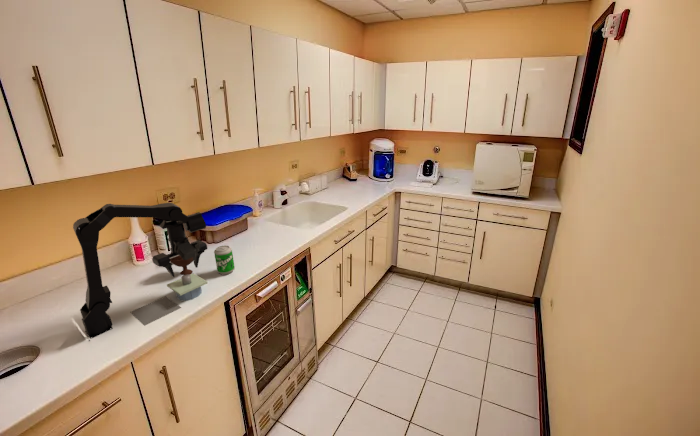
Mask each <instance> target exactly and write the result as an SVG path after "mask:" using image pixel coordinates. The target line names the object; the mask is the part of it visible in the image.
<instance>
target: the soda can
mask: <svg viewBox="0 0 700 436" xmlns="http://www.w3.org/2000/svg"><path fill="white" fill-rule="evenodd" d="M213 253H214V258H215V265H216V270H217V271H216V272H217V273H218V274H220V275H223V276H224V275H225V276H226V275H229V274H232V273H233V272H234V271H235V262H234V261H235V260H234V255H233V249H232V247H231V246H229V245H225V244H224V245H219V246H217V247H216V248H215V249H214V251H213Z"/></svg>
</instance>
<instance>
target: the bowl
mask: <svg viewBox="0 0 700 436" xmlns="http://www.w3.org/2000/svg"><path fill="white" fill-rule="evenodd" d="M201 294H202V286H200V287H198V288H196V289H194V290H192V291H190V292H187V293H185V294H183V295H181V296H180V295H179V294H177V293H176V292H175V295H176V299H177V300H179V301H183V302H186V301H192V300H194V299H195V298H196V299H197V298H198V297H199V296H200V295H201Z"/></svg>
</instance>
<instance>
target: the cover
mask: <svg viewBox="0 0 700 436" xmlns="http://www.w3.org/2000/svg"><path fill="white" fill-rule="evenodd" d="M207 284H208V280H205V279H204V278H202V277H200V276H199V275H197V274H195V273H193V272H192V274H190V275H189V274H187V275H181V278H179V279H177V280H174V281H171V282H170V283H167V284H166V287H168V288H169V289H170V290H172V292H174V293H175V294H176V293H177V294H179V295H180V296H181V295H183V294H185V293H187V292H190V291H192V290H194V289H196V288H198V287H200V286H201V287H203V286H204V285H207Z"/></svg>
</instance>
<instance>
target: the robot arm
mask: <svg viewBox="0 0 700 436" xmlns="http://www.w3.org/2000/svg"><path fill="white" fill-rule="evenodd" d="M115 218H153V219H154V218H155V219H160V220H162V222H161V223H160V224H159V227H160V228H161V229H163V230H164V229H165V230H166V231H167V236H168V238H167V241H168V242H169V244H170V253H167V254H166V253H164V252H161V253H158V254H156V255H153V256H152V258H151V260H152V263H153V264H154V265H156V266H158V267H159V268H160V267H161V268H165V269H166V270H167V272H168V273H169V274H170V276H171V277H172V278H175V272H174V269H173V267H172V265H173V264H172V263H171V262H170V259H171V258H174V257H177V256H181V257H182V259H183V260H188V259H190V258H192V257H193V265H194V267H195V268H198V265H199V263H200V262H199V261H200V257H201V256H202V254H203V253H205V251H207V250H208V245H207V243H206V242H204V241H202V240H200V239H198V240H194V241H192V242H191V243H190V241H189V238H188V237H187V235H186V232H189V233H194V232H197V231H201V230H204V229H206V228H207V224H206V221H205V218H204V217H203V215H202V213H201V212H200V211H198V212H195V213H192V214H188V215H187V214H185V213H183V209H182V208H181V207H180V206H178V205H177V204H175V203H172V202H164V203H163V202H162V203H158V204H154V205H142V204H141V205H140V204H138V205H137V204H114V203H113V204H112V203H106V204H104V205H103V206H101V208H98V209H97V210H95V211H93V212H91V213H90V214H88V215H87V216H85V217H82V218H79V219H77V220H75V222H73V224H72V225H73V226H72V229H73V231H74V234H75V236H76V238H77V241H78V243H79V246H80V248H81V253H82V258H83V264H84V271H85V276H86V283H87V287H86V292H85V303H84V304H83V305H82V307H80V310H79V311H80V314H81V316H82V318H81V321H82V324H83V327H84V330H85V331H84V332H85V333H86V334H85V335H87V336H88V337H89V339H90V340H91V339H94V338H96V337H98V336H100V335H102V334H105V333H107V332H109V331H111V330H113V329H114V328H113V323H112V320H111V317H110V315H109V313H107V311H108V310H109V309H110V306H111V304H113V301H112V299H111V290H110V289H109V287H108V285H105V286H104V285H103V281H102V275H101V267H100V259H99V255H98V244H99V236H100V231H102V230H103V229H104V228H105V227H107V225H108V224H109V223H110V222H111V221H112V220H113V219H115ZM185 231H186V232H185ZM171 251H172V253H171Z"/></svg>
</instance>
